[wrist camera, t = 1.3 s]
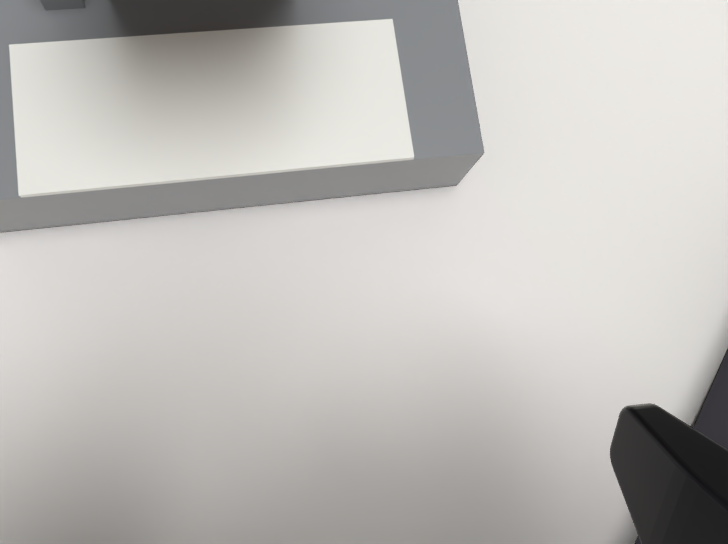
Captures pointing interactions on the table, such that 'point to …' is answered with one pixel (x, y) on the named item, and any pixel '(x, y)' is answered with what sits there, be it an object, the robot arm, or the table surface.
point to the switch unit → (226, 105)
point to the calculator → (715, 411)
